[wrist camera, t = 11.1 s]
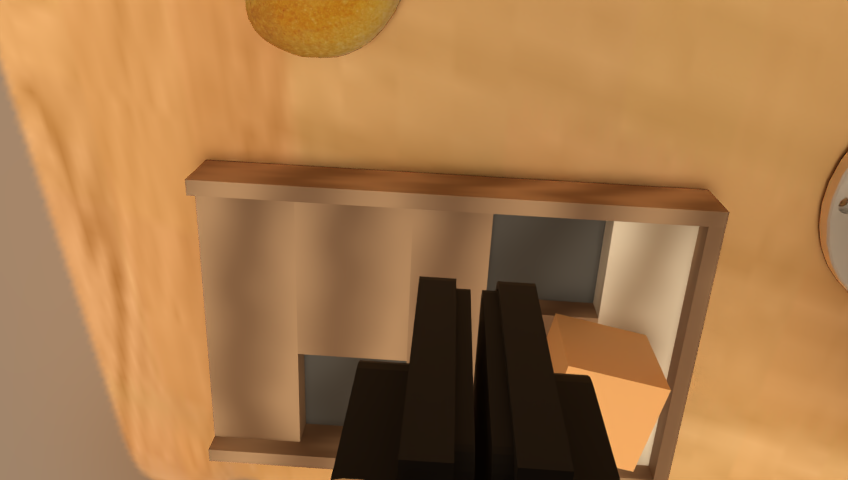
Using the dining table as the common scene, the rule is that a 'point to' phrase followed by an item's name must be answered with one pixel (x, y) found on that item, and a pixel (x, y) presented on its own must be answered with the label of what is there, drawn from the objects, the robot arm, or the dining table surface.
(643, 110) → the dining table surface
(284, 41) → the bread roll
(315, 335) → the box
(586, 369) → the orange block
